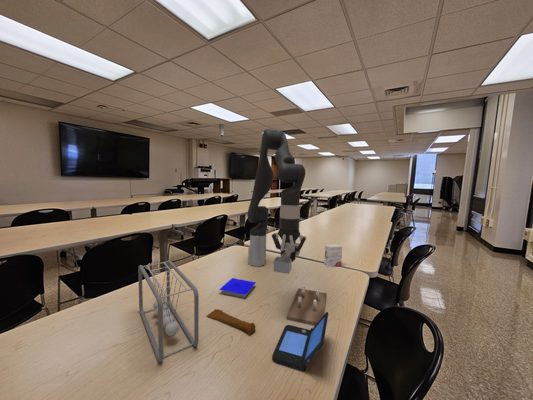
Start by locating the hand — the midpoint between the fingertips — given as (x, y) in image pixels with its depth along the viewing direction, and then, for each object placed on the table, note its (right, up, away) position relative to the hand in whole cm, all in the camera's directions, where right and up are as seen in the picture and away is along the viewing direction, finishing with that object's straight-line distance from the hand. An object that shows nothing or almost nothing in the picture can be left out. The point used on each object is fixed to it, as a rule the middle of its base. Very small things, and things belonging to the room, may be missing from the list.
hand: (288, 260), depth 89 cm
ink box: (+30, -15, +44) cm, 55 cm away
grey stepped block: (0, 0, 0) cm, 1 cm away
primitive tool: (-21, -19, -11) cm, 30 cm away
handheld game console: (+2, -20, -22) cm, 30 cm away
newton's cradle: (-41, -18, -15) cm, 47 cm away
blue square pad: (-21, -17, +11) cm, 29 cm away
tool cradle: (+8, -18, 0) cm, 19 cm away
